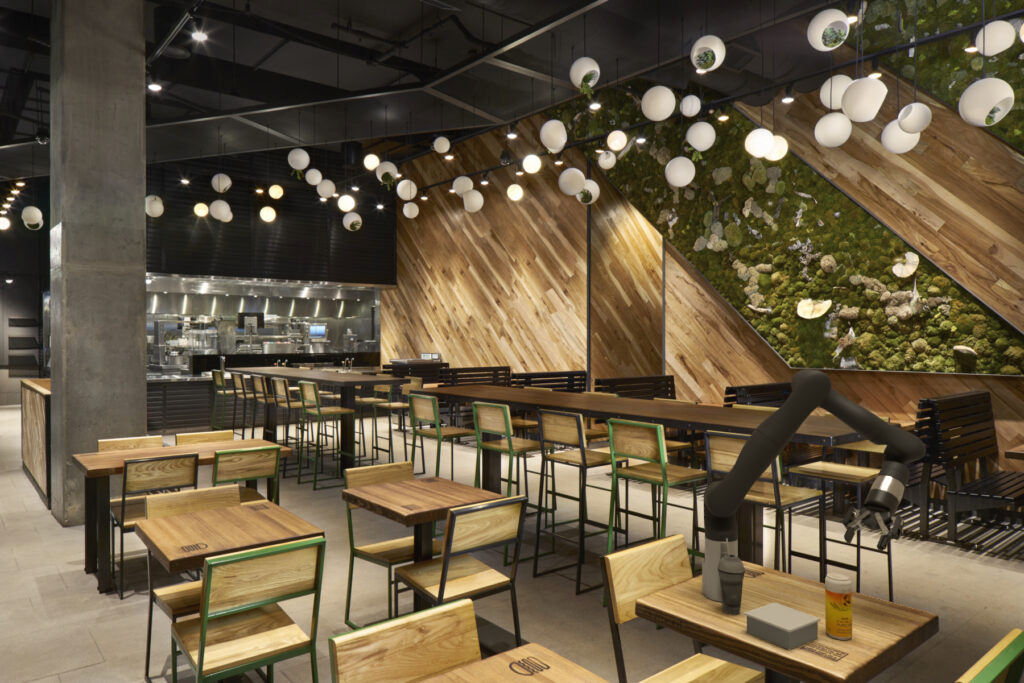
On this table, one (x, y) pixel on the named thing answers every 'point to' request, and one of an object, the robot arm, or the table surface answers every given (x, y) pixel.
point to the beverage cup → (731, 582)
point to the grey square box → (782, 625)
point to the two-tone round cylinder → (838, 606)
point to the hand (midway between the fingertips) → (863, 545)
